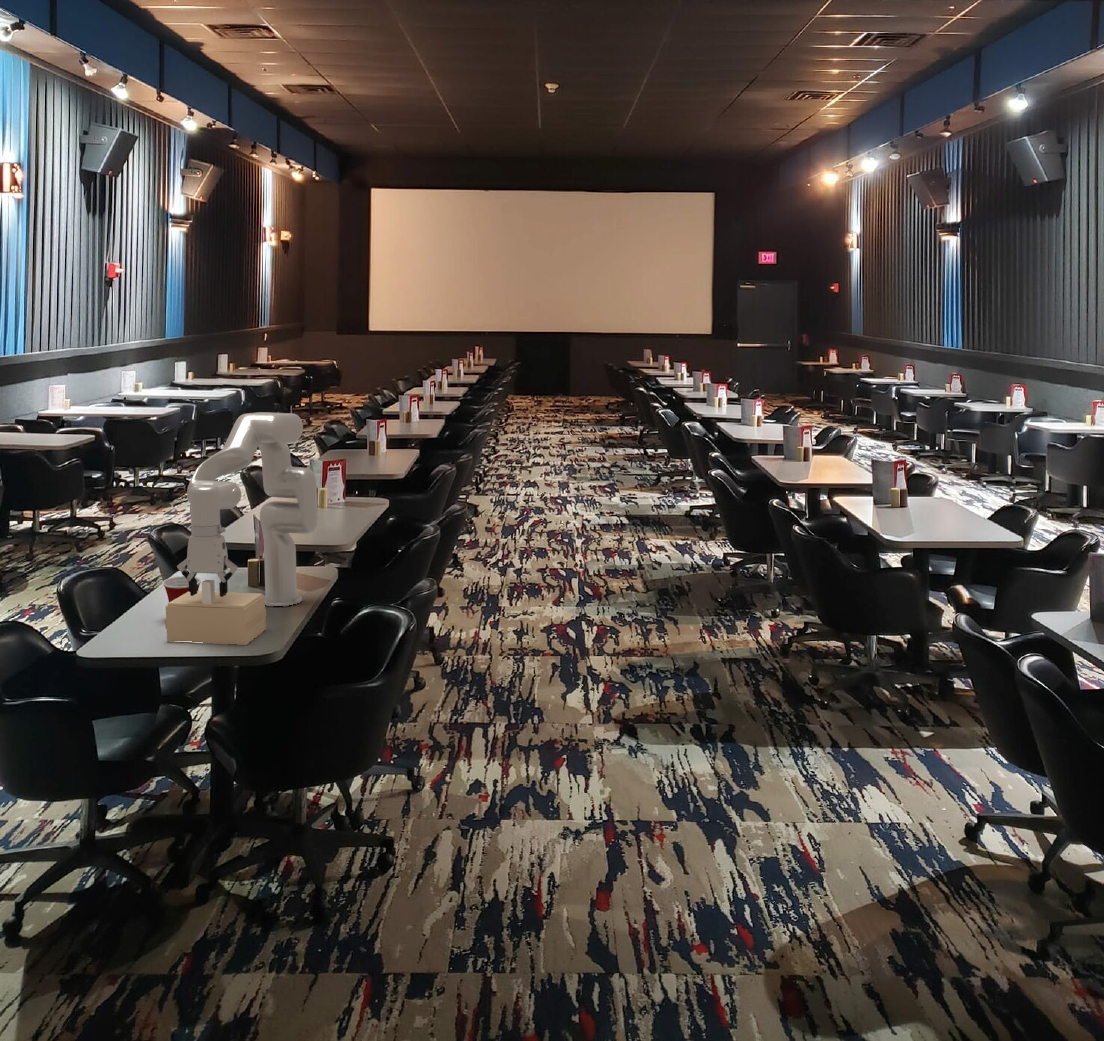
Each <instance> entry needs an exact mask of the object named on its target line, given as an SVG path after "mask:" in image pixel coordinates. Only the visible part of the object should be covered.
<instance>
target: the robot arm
mask: <svg viewBox="0 0 1104 1041" xmlns="http://www.w3.org/2000/svg"><path fill="white" fill-rule="evenodd" d="M303 430H304V424H303V421H302V419H301V417H300V416H299V415H298V414H296V413H293V412H289V413H288V412H286V413H285V412H269V411H268V412H267V411H266V412H263V411H262V412H261V411H260V412H259V411H258V412H249V413H243V414H241V415H239V416H238V418H237V419H236V420H235V422H234V424H233V427H232V428H231V430H230V433H229V435H228V437H227V439H226V442H225V443H224V445H223V447H222V449H221V450H219V451H218V452H216V453H214V454H212V455H211V456H209V457H208V458H207V459H205V460H204V461H202V463H201V464H198V466H197V468H196V469H195V471H194V473H193V475H192V476H191V478H190V481H189V483H188V485H187V488H186V490H187V491H186V499H187V501H188V503H189V504H190V526H191V527H190V529H191V530H190V531H191V535H189V537H188V542H187V543H188V544H187V551H186V553H187V555H186V558H185V559H184V560H182V561H181V562H180V563H178V564H177V566H176V568H177V569H178V570H179V572H180V573H181V575H182V576H184V577H185V578H186V579H187V581H188V582H189V592H190V595H191V596H193V595H195V594H197V580H196V579H195V577H197V574H216V575H217V576H218V578H219V580H220V582H219V584H218V585H219V587H218V588H219V592H220V597H223V596H225V595H226V593H227V592H228V591H229V590H228V588H229V587H228V582H229V580H230V579H231V578H232V577H233V576H234V574H235V573H236V571H237V569H238V568H239V566H238V565H236V564H235V563H233V562H232V561H231V560H230V559H229V558H228V557H229V556H228V548H227V544H226V543H227V542H226V539H225V535H224V534H223V533H226V527H223V526H222V524H221V511H220V510H230V509H233V508H235V507H236V506H238V504H239V503H240V502H241V498H242V491H241V488H240V486H238V484H236V483H235V482H233V481H225V480H224V481H223V480H216V479H218V478H220V477H222V476H225V475H228V474H232V473H234V472H238V471H241V470H243V469H245V468H247V467H248V466H249V465H250V464H251V463H252V461H253V458H254V455H255V453H256V451H257V449H258V448H259V450H260V453H261V455H260V456H261V464H262V465H261V466H262V484H263V491H264V493H265V494H266V495H267V496H268V497H271V498H280V499H281V498H283V499H296V500H297V501H282V500H280V501H279V500H276V501H268V502H266V503H265V504H263V505H262V506H261V508H260V511H259V521H260V527H261V531H262V537H263V538H262V539H263V554H264V555H263V558H264V560H263V561H264V586H265V587H264V592H265V605H266V606H267V607H273V606H283V607H290V606H289V605H292V606H294V605H293V604H296V603H299V604H301V603H302V602H303V597H302V596H300V595H298V590H297V589H298V584H297V550H296V543H295V541H294V539H293V538H292V535H290V534H301V535H305V534H306V535H307V534H312V533H314V531H315V530H316V529H317V526H318V519H319V515H318V513H319V512H318V511H319V509H318V491H317V490H318V489H317V488H318V486H317V479H316V476H315V474H314V472H313V471H312V470H311V469H310V468H307V467H303V466H302V467H301V466H300V467H299V466H293V465H292V461H291V460H292V459H291V450H290V447H289V445H288V443H295V442H297V441H299V439H300V438H301V437H302V435H303ZM228 569H229V571H228V572H226V571H227V570H228ZM301 601H302V602H301ZM300 602H301V603H300ZM296 605H297V604H296ZM266 606H265V607H266Z"/></svg>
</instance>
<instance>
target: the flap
mask: <svg viewBox="0 0 1104 1041" xmlns="http://www.w3.org/2000/svg"><path fill="white" fill-rule="evenodd" d="M215 584H216V582H215V579H205V580H203V581H201V591H200V590H198V591H197V594H195V595H193V596H191V595H190V592H187V593H185V594H183V595H182V596H180V597H178V598H176V599H175V600H173V601H171V602H169V601H168V603H167V605H168V606H194V607H222V608H245V607H247V606H248V605H250V604H251V603H252V602H254V601H255V600H257V599H258V598H260V597H261V596H263V595H264V594H263V593H260V592H259V593H257V592H233V591H232V592H231V591H229V592H227V593H226V595H225V596H223V597H220V591H216V589H215V588H216V587H215Z"/></svg>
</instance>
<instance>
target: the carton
mask: <svg viewBox="0 0 1104 1041" xmlns="http://www.w3.org/2000/svg"><path fill="white" fill-rule="evenodd" d="M265 596H266V595H264V594H263V596H261V597H260V598H258V599H257V600H255V601H254V602H252V603H251V604H250V605H248V606H247V607H245V608H222V607H194V606H168V604H167V605H166V606H165V624H164V625H165V629H166V642H167V641H192V642H203V643H213V644H212V645H228V644H237V646H247V645H248V644H249V642H250V641H251V642H252V641H254V638H255V639H256V638H257V637H259V636H260V635H261V634H263V631H264V630H265V629H266V628H267V627H266V625H267V623H266V617H267V608H266V606H265ZM266 630H267V629H266ZM266 630H265V631H266ZM265 631H264V632H265ZM258 635H259V636H258ZM251 642H250V643H251Z"/></svg>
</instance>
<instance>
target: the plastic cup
mask: <svg viewBox="0 0 1104 1041" xmlns="http://www.w3.org/2000/svg"><path fill="white" fill-rule="evenodd" d="M195 579H196V580H197V591H200V585H201V584H202V579H201V578H199V577H197V576H195ZM161 583H162V585H163V587H164V589H165V592H166V595H167V600H168V603H169V602H171V601H173V600H175V599H176V598H178V597H180V596H182V595H183V594H185V593H187V592H189V582H188V581H187V579H186V578H185V577H184V576H183V575H182V576H174V577H169V578H166V579H164V580H163V581H162V582H161Z"/></svg>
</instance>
